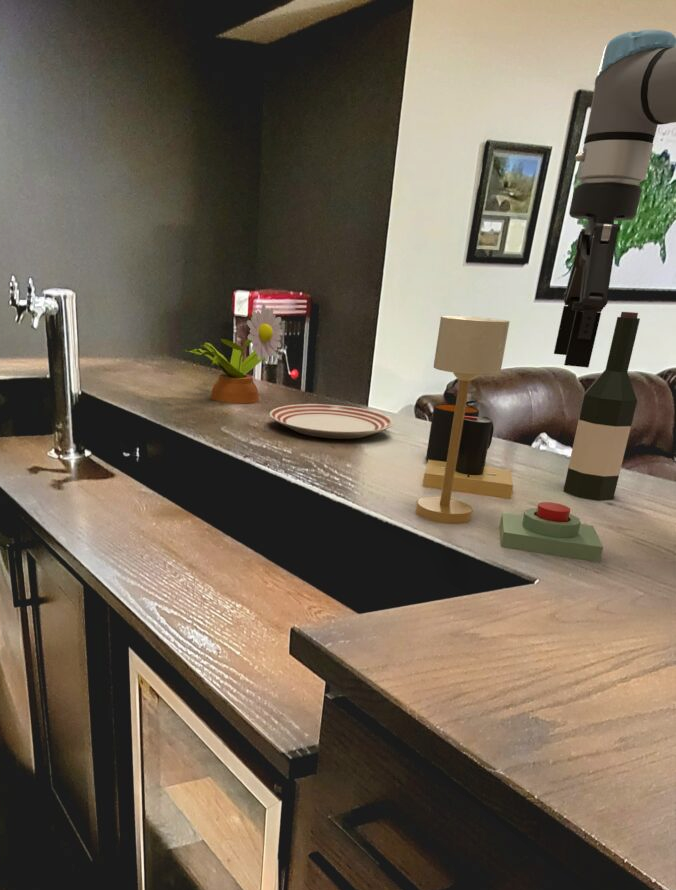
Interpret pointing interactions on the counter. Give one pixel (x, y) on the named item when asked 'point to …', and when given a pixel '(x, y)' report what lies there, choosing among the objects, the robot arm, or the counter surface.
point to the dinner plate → (331, 420)
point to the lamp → (462, 395)
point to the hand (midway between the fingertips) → (569, 360)
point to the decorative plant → (234, 381)
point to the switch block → (550, 536)
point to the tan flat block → (471, 480)
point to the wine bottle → (605, 421)
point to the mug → (445, 430)
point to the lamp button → (553, 512)
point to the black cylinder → (473, 445)
